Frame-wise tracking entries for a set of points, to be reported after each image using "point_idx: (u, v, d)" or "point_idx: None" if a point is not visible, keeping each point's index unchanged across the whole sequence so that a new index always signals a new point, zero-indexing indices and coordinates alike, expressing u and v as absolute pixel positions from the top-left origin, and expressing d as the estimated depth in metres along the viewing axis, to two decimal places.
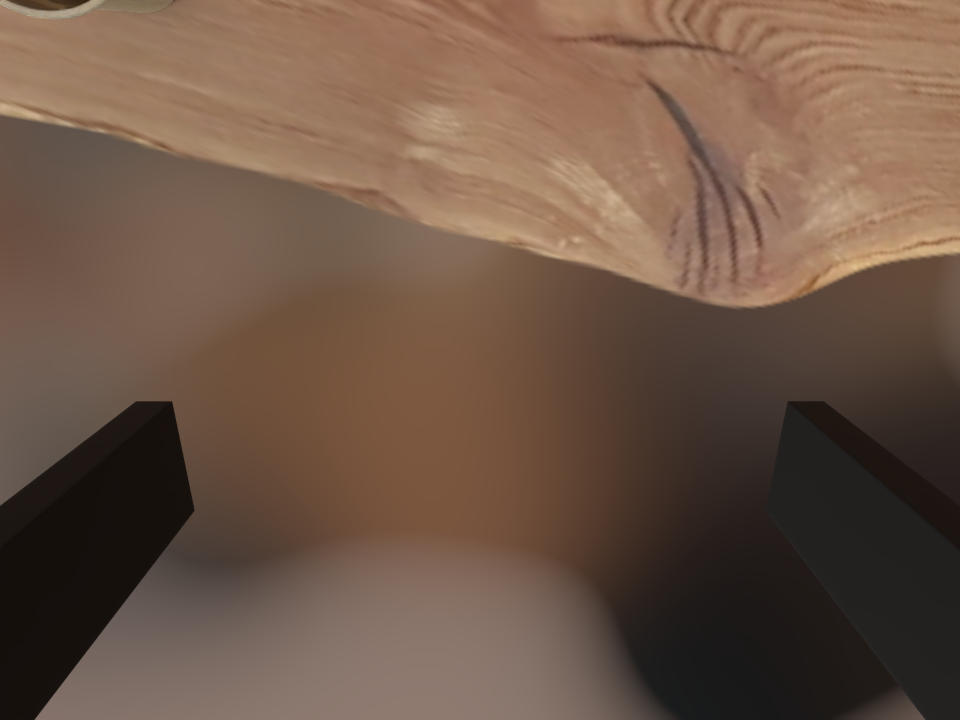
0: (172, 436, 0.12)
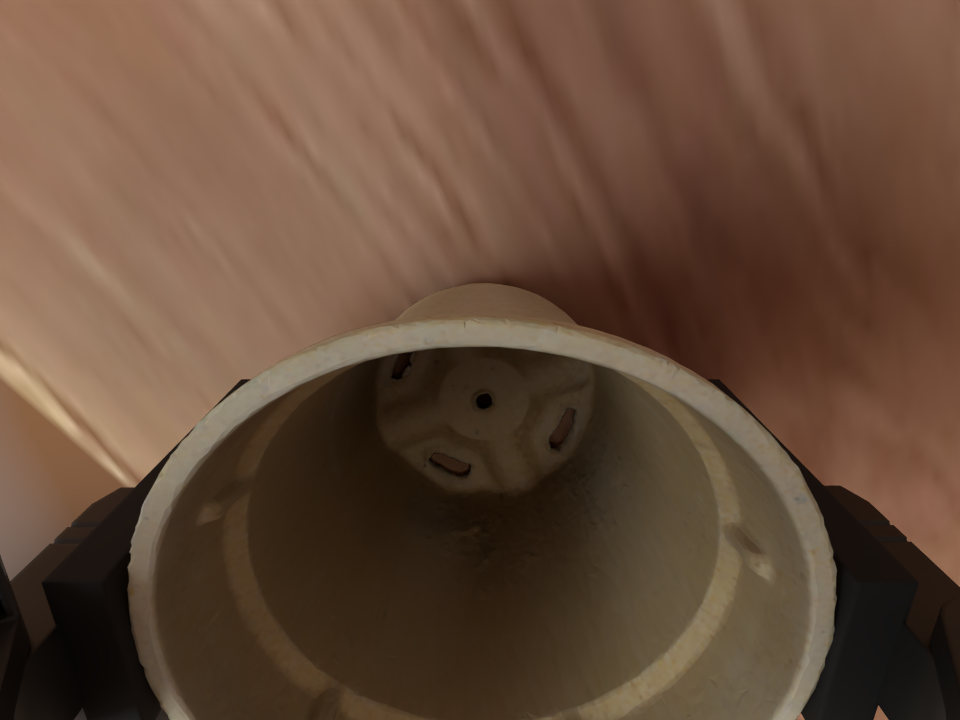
0: None
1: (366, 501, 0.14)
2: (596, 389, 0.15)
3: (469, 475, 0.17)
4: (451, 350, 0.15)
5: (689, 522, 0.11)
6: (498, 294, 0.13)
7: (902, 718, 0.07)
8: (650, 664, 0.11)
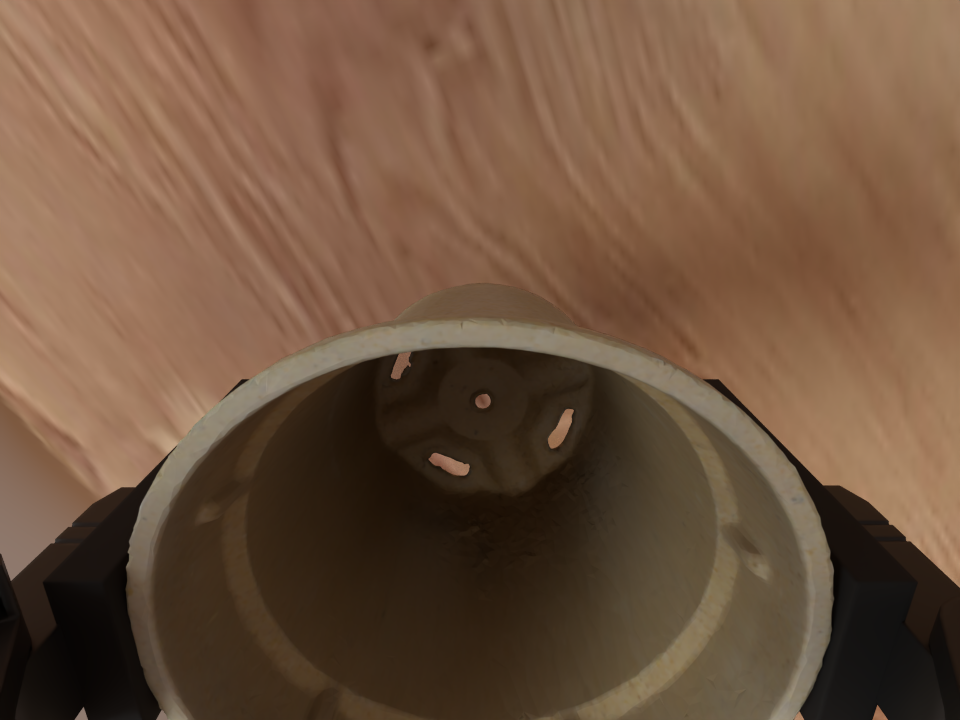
0: None
1: (366, 501, 0.14)
2: (595, 389, 0.15)
3: (469, 475, 0.17)
4: (451, 351, 0.15)
5: (687, 522, 0.11)
6: (497, 294, 0.13)
7: (901, 718, 0.07)
8: (647, 664, 0.11)
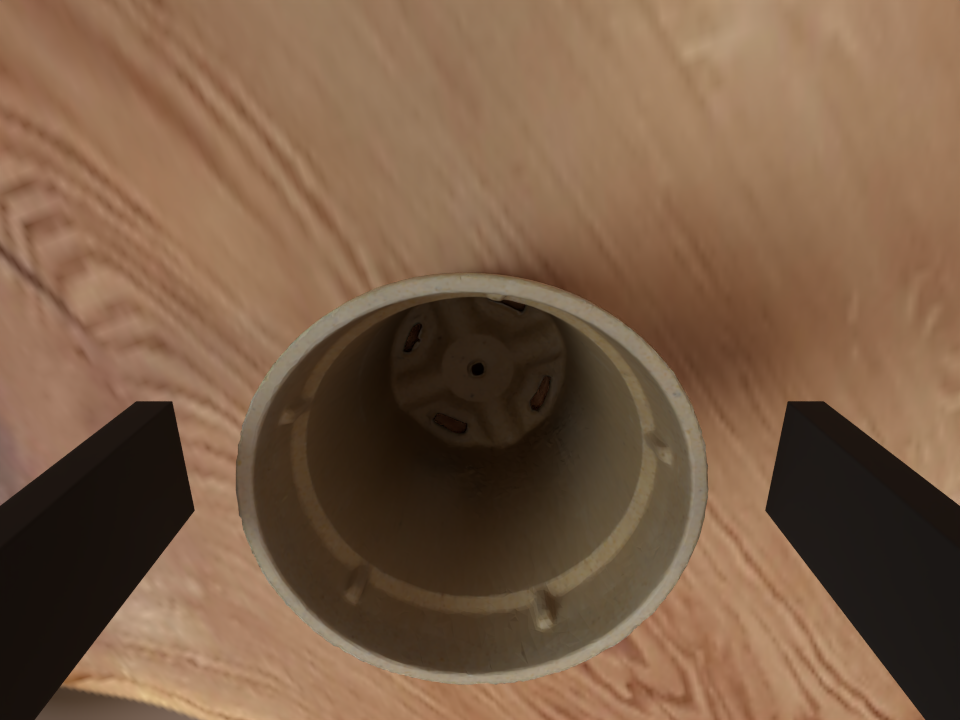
0: (172, 436, 0.12)
1: (385, 444, 0.18)
2: (567, 359, 0.19)
3: (466, 433, 0.21)
4: (452, 328, 0.19)
5: (626, 441, 0.14)
6: None
7: None
8: (598, 547, 0.14)
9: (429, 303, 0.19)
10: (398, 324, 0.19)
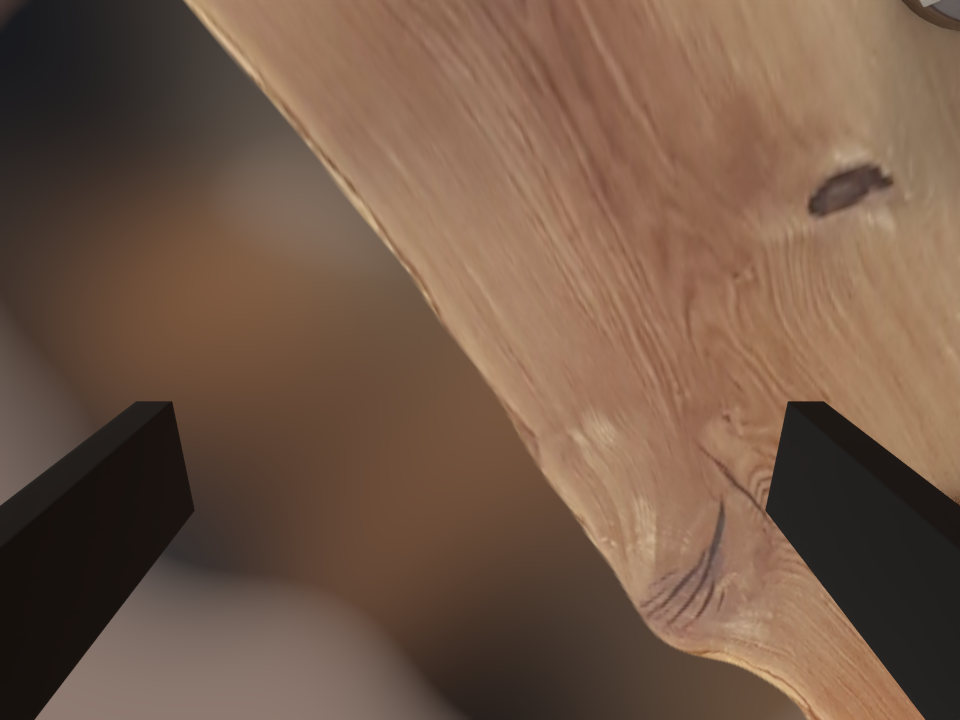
0: (172, 436, 0.12)
1: None
2: None
3: None
4: None
5: None
6: None
7: None
8: None
9: None
10: None
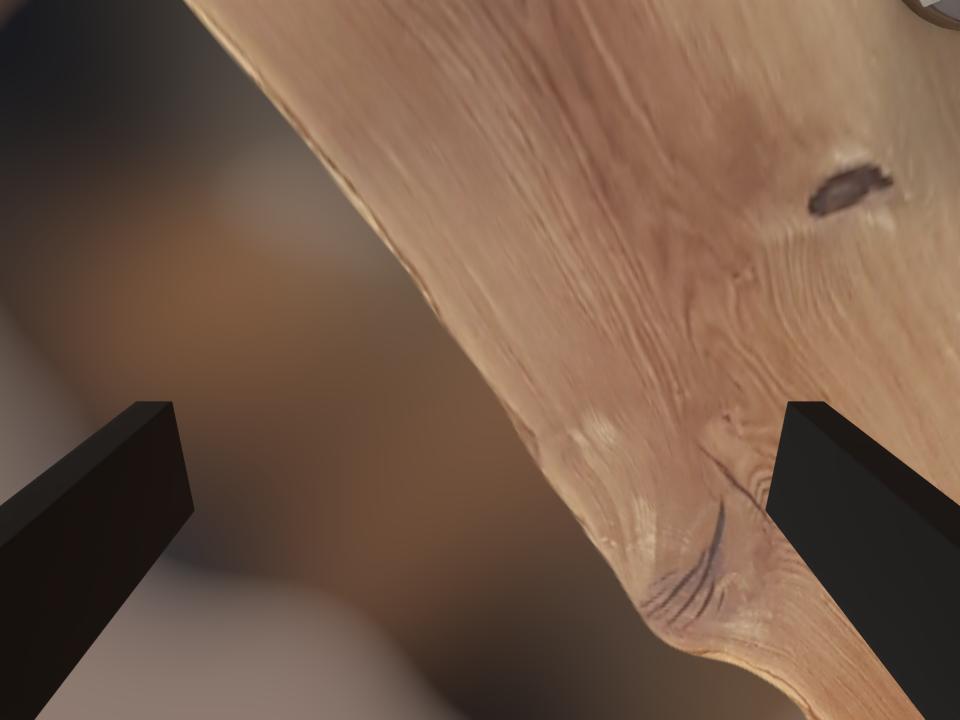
0: (172, 436, 0.12)
1: None
2: None
3: None
4: None
5: None
6: None
7: None
8: None
9: None
10: None
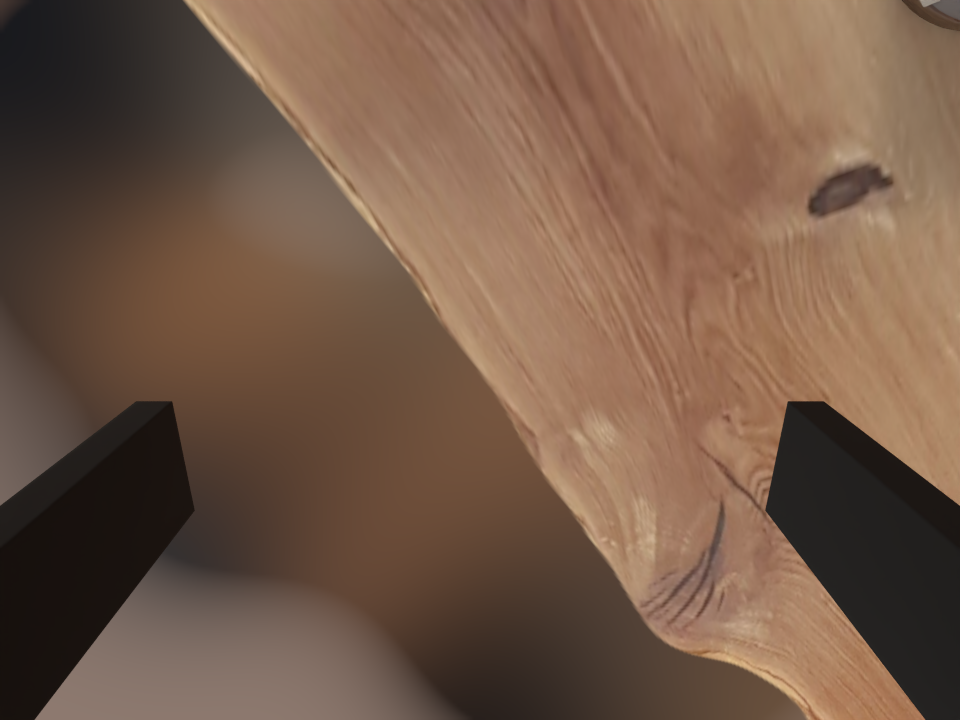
0: (172, 436, 0.12)
1: None
2: None
3: None
4: None
5: None
6: None
7: None
8: None
9: None
10: None
